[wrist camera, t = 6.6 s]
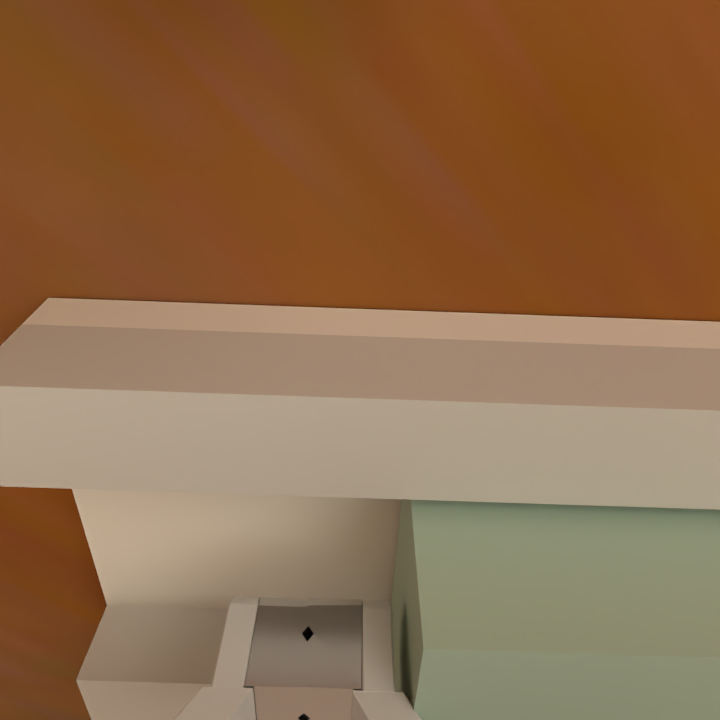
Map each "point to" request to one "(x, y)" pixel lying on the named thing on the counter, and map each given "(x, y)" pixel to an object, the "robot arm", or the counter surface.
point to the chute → (323, 449)
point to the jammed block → (557, 611)
